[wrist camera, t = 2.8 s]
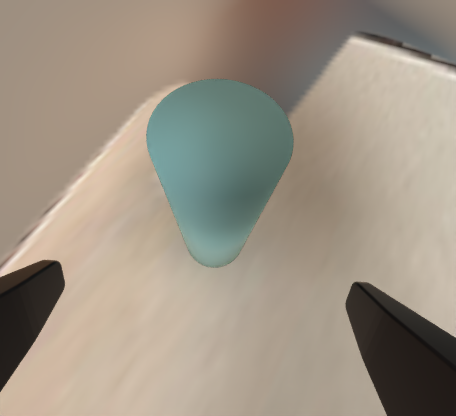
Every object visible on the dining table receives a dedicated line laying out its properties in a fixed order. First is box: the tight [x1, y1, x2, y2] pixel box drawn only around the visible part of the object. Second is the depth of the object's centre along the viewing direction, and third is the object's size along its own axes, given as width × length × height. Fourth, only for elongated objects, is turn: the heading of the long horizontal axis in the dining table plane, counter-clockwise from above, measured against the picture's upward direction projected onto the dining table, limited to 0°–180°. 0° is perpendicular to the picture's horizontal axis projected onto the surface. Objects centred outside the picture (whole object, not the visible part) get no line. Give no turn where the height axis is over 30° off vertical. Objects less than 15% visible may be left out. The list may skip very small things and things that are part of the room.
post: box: [146, 79, 293, 267], centre depth 14 cm, size 4×4×13 cm
